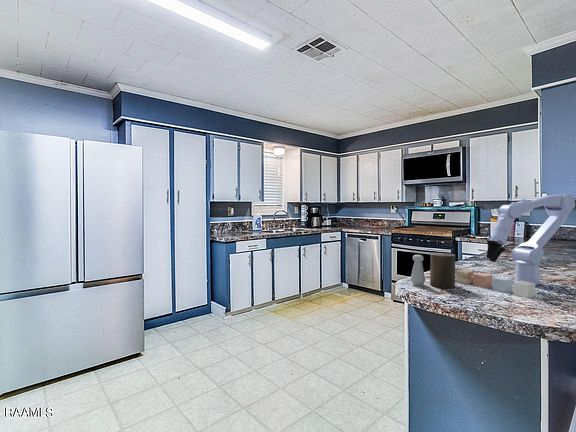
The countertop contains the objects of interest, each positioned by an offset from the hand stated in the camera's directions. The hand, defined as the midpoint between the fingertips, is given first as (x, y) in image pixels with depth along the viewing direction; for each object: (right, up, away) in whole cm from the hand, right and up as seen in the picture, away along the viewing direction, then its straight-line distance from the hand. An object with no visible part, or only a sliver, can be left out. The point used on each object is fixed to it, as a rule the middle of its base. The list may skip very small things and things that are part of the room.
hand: (490, 260), depth 136 cm
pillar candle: (-21, -11, 0) cm, 24 cm away
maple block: (-8, -11, +6) cm, 15 cm away
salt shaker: (-31, -11, +1) cm, 33 cm away
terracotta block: (-4, -11, -1) cm, 12 cm away
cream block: (+3, -12, -15) cm, 19 cm away
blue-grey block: (-1, -11, -8) cm, 14 cm away
